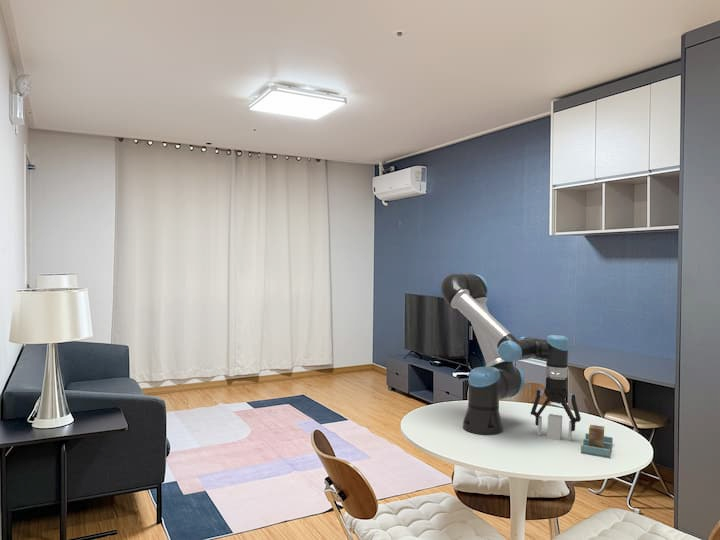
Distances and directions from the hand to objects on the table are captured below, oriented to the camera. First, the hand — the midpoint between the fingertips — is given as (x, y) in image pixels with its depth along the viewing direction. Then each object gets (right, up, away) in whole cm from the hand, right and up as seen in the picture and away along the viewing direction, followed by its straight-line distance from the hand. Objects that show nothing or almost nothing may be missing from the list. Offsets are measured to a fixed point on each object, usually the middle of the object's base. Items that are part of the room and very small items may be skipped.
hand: (554, 436), depth 204 cm
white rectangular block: (0, 0, 0) cm, 0 cm away
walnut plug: (+9, 0, -15) cm, 17 cm away
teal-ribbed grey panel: (+11, -1, -11) cm, 16 cm away
